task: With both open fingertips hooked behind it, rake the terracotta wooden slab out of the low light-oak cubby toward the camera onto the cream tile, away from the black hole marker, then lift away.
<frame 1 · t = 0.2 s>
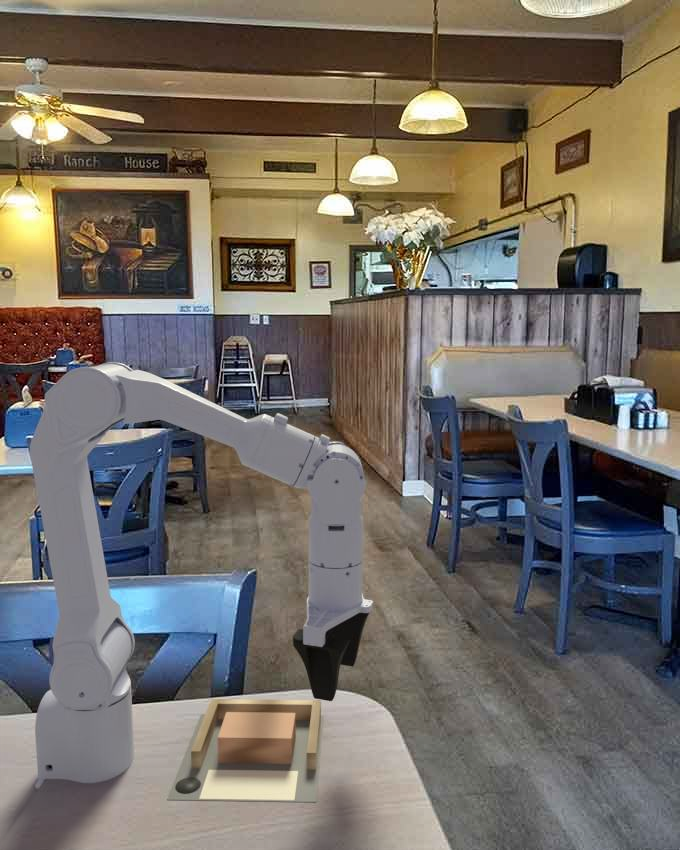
hand: (335, 680, 76), 10 cm above the table, fingers open, 7 cm apart
floor board: (252, 758, 78), on the table
oak cubby: (260, 740, 80), resting on floor board
terracotta slab: (258, 749, 78), point 1 cm above the table, touching floor board
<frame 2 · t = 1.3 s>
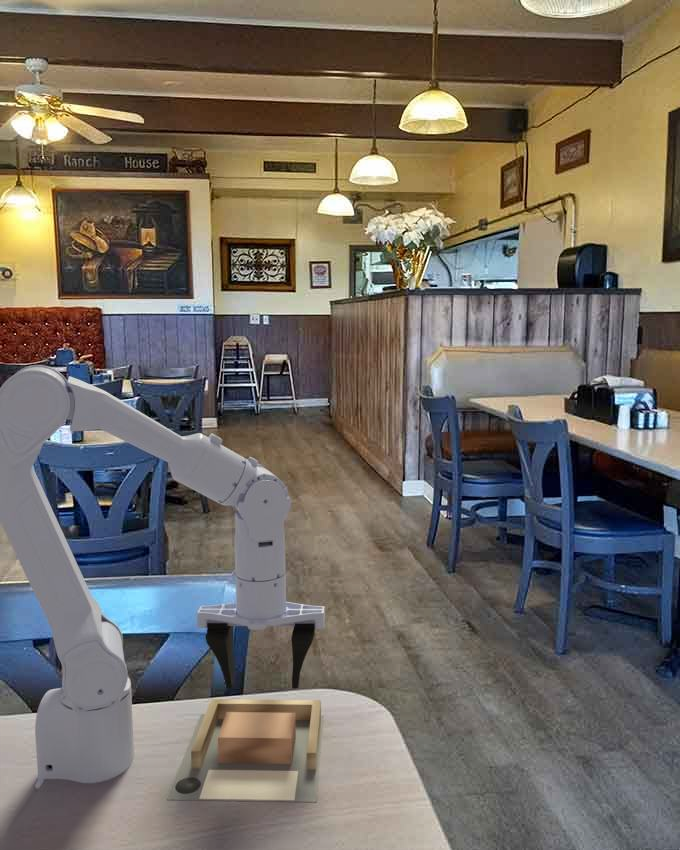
hand: (263, 684, 82), 6 cm above the table, fingers open, 7 cm apart
nothing on the table moved.
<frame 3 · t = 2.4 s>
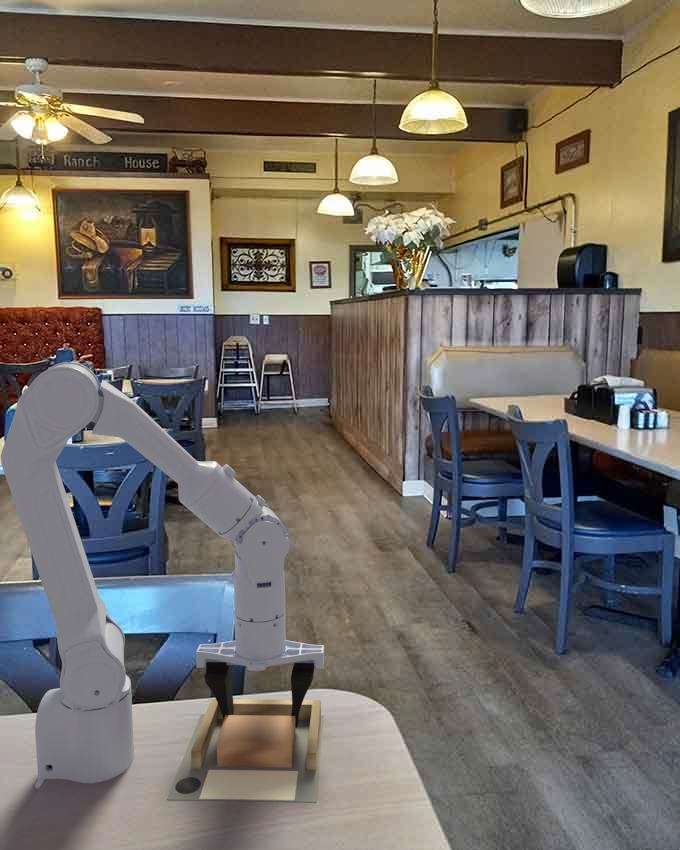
hand: (262, 722, 81), 2 cm above the table
terracotta slab: (257, 753, 78), point 1 cm above the table, touching gripper
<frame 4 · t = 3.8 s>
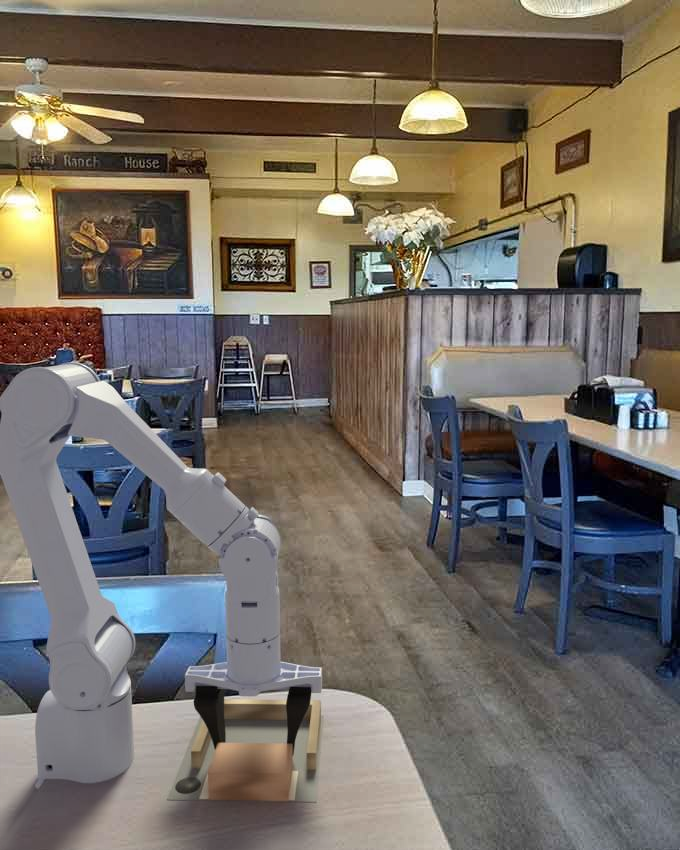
hand: (255, 750, 76), 2 cm above the table
terracotta slab: (252, 784, 72), point 1 cm above the table, touching floor board, gripper
when the fingers open (2 cm above the table, at t = 4.1 s): terracotta slab stays where it is, resting on floor board.
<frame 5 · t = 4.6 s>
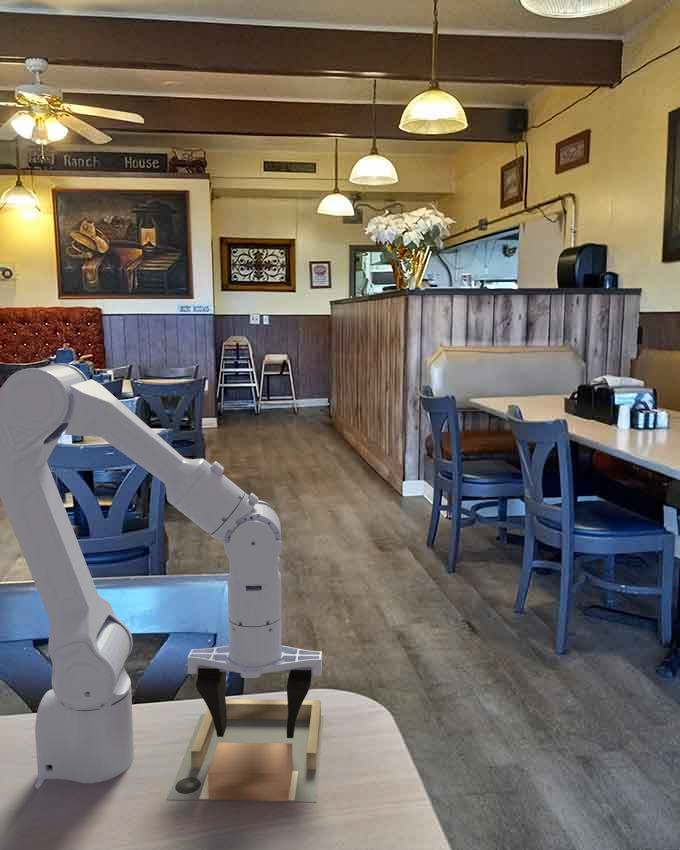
hand: (256, 732, 77), 3 cm above the table, fingers open, 7 cm apart
terracotta slab: (252, 784, 72), point 1 cm above the table, touching floor board
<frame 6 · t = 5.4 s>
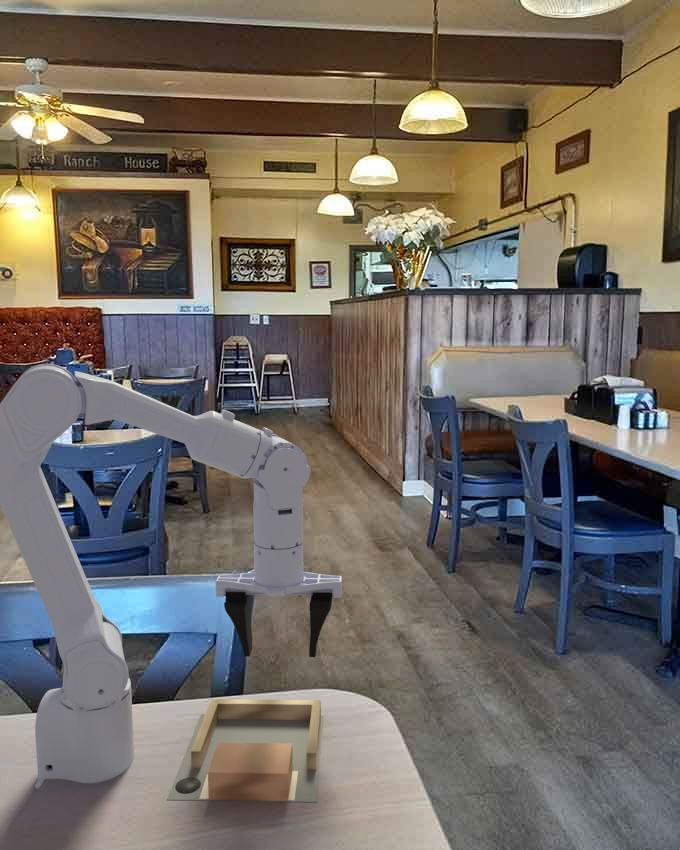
hand: (280, 652, 82), 9 cm above the table, fingers open, 7 cm apart
nothing on the table moved.
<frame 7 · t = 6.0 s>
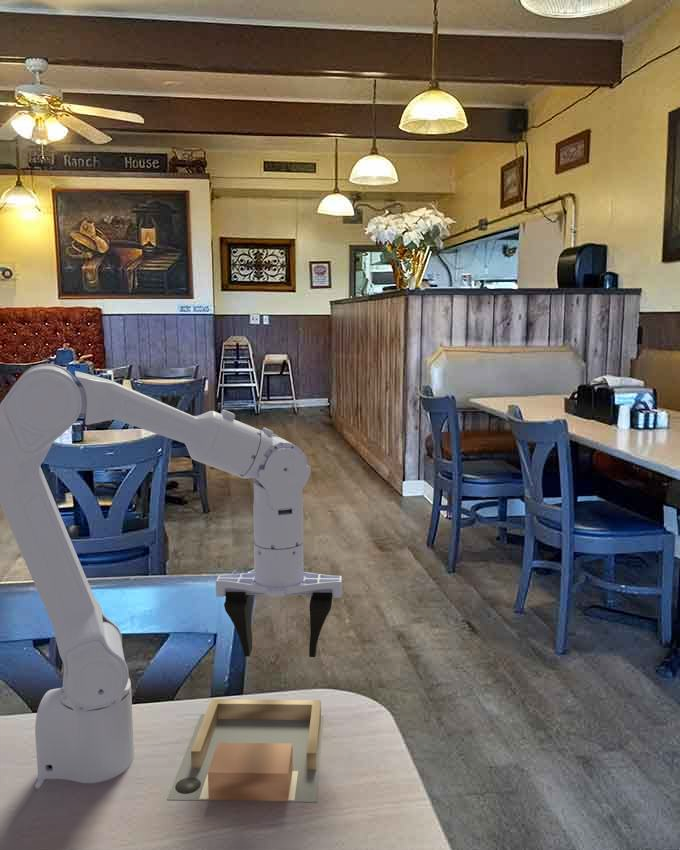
hand: (280, 652, 82), 9 cm above the table, fingers open, 7 cm apart
nothing on the table moved.
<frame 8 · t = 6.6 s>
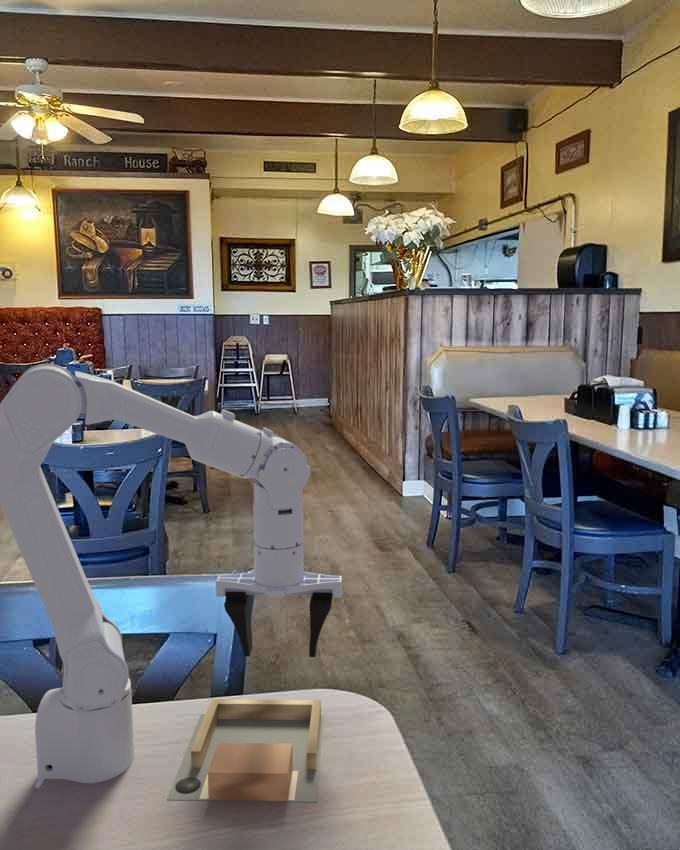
hand: (280, 652, 82), 9 cm above the table, fingers open, 7 cm apart
nothing on the table moved.
at the end: terracotta slab 0.4 cm from the target spot, point 0.6 cm above the table; terracotta slab tilted 0° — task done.
